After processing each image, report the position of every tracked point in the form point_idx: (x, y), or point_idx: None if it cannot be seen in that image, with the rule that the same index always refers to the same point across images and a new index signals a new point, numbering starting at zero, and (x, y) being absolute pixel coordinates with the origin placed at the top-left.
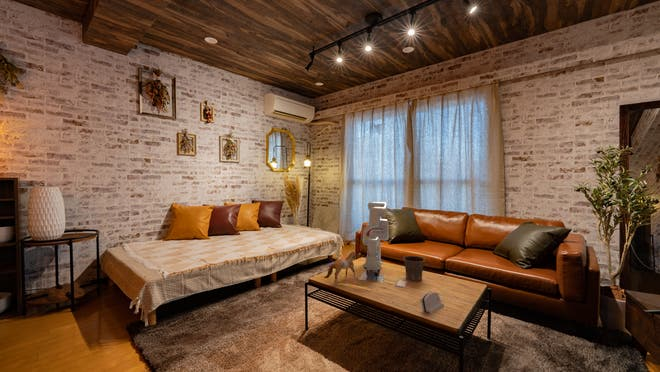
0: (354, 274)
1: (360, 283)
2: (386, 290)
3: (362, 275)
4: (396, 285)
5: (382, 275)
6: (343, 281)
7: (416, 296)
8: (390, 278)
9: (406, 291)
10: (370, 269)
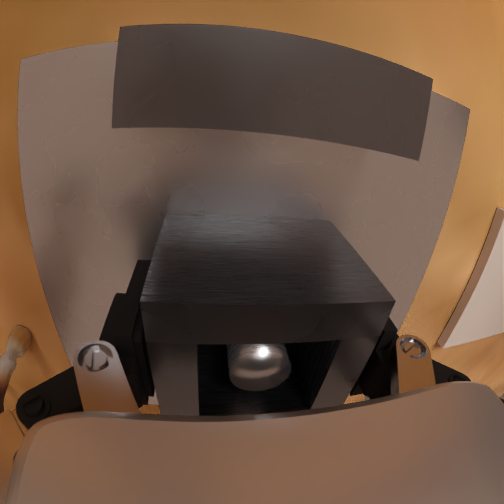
0: (7, 383)
1: (147, 410)
2: None
3: (55, 272)
4: (477, 338)
5: (427, 136)
6: (11, 396)
7: (495, 379)
8: (488, 154)
9: (487, 363)
10: (179, 311)
